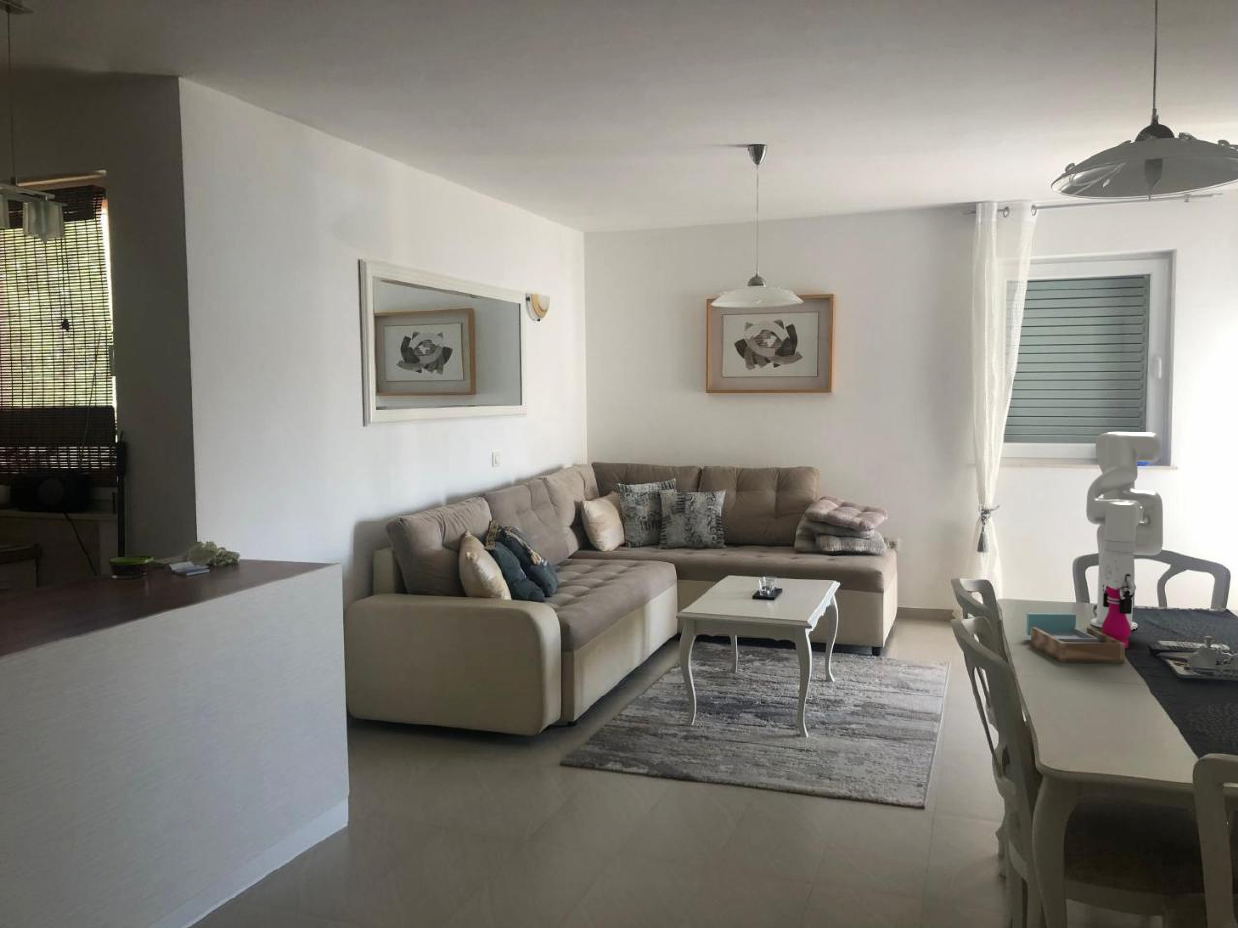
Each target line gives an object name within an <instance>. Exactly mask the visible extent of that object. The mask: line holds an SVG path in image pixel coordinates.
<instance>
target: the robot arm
mask: <svg viewBox="0 0 1238 928" xmlns="http://www.w3.org/2000/svg"><path fill="white" fill-rule="evenodd" d="M1095 440H1096V441H1095V453H1096V454H1095V455H1096V459H1097V464H1098V466H1099V469H1100V471H1101V474H1100V475H1099V476H1098V477H1096V478H1095V480H1093V481H1092V483H1091V484H1090V486H1089V487H1088V491H1087V495H1086V511H1085V512H1086V513H1085V514H1086V518H1087V520H1088V522H1089V523H1091V524H1093V525H1096V526H1097V525H1098V527H1097V529H1096V541H1097V542H1096V543H1097V551H1098V573H1097V574H1098V576H1097V577H1098V578H1097V599H1096V601H1097V602H1096V609H1095V610H1094V612H1095V614H1096V618H1095V617H1094V618H1092V619H1091V620H1090V624H1091V625H1092V626H1093V627H1097V628H1100V629H1102V625H1103V622H1104V620H1105V618H1106V616H1107V614H1108V611H1109V602H1107V600H1108V598H1107V597H1108V596H1109V595H1108V594H1107V592H1106V586H1109V587H1110V588H1112V589H1114V590H1118V589H1119V592H1120V596H1121V599H1119V613H1120V614H1126V617H1127V620H1128V622H1129V625H1130V628H1131V631H1133V629H1135V630H1137V629H1138V628H1139V627H1138V626H1139V625H1138V623H1137V622H1134V621H1133V606H1134V595H1135V592H1136V590H1137V585H1136V584H1135V577H1136V575H1135V569H1136V568H1135V555H1137V556H1157V555H1158V554H1160V553H1161V552H1162V549H1163V545H1164V544H1163V543H1164V516H1163V515H1164V509H1163V505H1164V504H1163V499H1162V497H1161V495H1160V494H1159V493H1158V492H1156V491H1154V490H1148V489H1147V490H1143V489H1136V488H1135V481H1136V480H1137V479H1138V473H1139V472H1138V462H1139V463H1140V462H1141V463H1142V462H1143V463H1156V462H1158V461H1159V460H1160V458H1161V455H1162V440H1161V438H1160V436H1159V435H1158V434H1157V433H1155V432H1136V431H1135V432H1134V431H1131V432H1130V431H1110V432H1109V431H1108V432H1104V433H1101V434H1100V435H1098V436H1097V437H1096V439H1095ZM1101 496H1103V497H1102V498H1101ZM1122 587H1127V588H1122ZM1124 591H1126V592H1125V594H1124ZM1137 627H1138V628H1137ZM1136 628H1137V629H1136Z"/></svg>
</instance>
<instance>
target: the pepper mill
mask: <svg viewBox="0 0 1238 928" xmlns="http://www.w3.org/2000/svg"><path fill="white" fill-rule="evenodd" d="M1122 588H1127V587H1122ZM1106 592H1107V594H1108V595H1109V596H1108V597H1107V598H1108V600H1107V602H1109V611H1108V614H1107V616H1106V618H1105V620H1104V622H1103V625H1102V628H1101V633H1103V634H1105V635H1107V636H1110V637H1112V638H1114V639H1116V640H1118V641H1120V642H1122V643H1124V644H1125V648H1126V649H1128V648H1129V640H1128V638H1129V637H1130V636H1131V633H1132V630H1131V628H1130V625H1129V622H1128V620H1127V617H1126V614H1120V613H1119V599H1121V596H1120V592H1119V589H1118V590H1114V589H1112V588H1110V587H1109V586H1106ZM1125 592H1126V591H1124V594H1125Z"/></svg>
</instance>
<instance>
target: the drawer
mask: <svg viewBox="0 0 1238 928" xmlns="http://www.w3.org/2000/svg"><path fill="white" fill-rule="evenodd" d="M1076 623H1077V614H1076V613H1065V612H1064V613H1063V612H1062V613H1060V612H1059V613H1055V612H1054V613H1053V612H1052V613H1050V612H1049V613H1048V612H1047V613H1046V612H1043V613H1042V612H1026V630H1025V631H1026V635H1027V636H1030V637H1031V631H1032V627H1037V628H1038V629H1040V630H1042V631H1044V632H1046V633H1048V634H1050V635H1052V636H1053V637H1055V638H1057V639H1059V640H1061V641H1063V642H1095V643H1099V642H1100V639H1098V638H1096V637H1094V636H1092V635H1090V634H1088V633H1087V631H1084V630H1081V629H1080V628H1078V627H1076V626H1077V625H1076Z"/></svg>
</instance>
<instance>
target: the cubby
mask: <svg viewBox="0 0 1238 928" xmlns="http://www.w3.org/2000/svg"><path fill="white" fill-rule="evenodd" d="M1086 633H1088V634H1090V635H1092V636H1094V637H1096V638H1098V639H1100V642H1099V643H1095V642H1063V641H1061V640H1059V639H1057V638H1055V637H1053V636H1052V635H1050V634H1048V633H1046V632H1044V631H1042V630H1040V629H1038V628H1037V627H1032V631H1031V636H1030V646H1031V647H1033V648H1035V649H1037V650H1039V651H1040V652H1042V653H1044V654H1046V655H1047V656H1049V657H1051V658H1053V659H1054V660H1055V661H1058V662H1059V663H1071V664H1072V663H1075V664H1076V663H1077V664H1078V663H1083V664H1085V663H1086V664H1094V663H1095V664H1125V660H1126V659H1125V656H1126V654H1125V653H1126V649H1125V644H1124V643H1122V642H1120V641H1118V640H1116V639H1114V638H1112V637H1110V636H1107V635H1105V634H1103V633H1102V631H1101V632H1100V631H1099V630H1097V629H1095V628H1093V627H1086Z"/></svg>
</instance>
